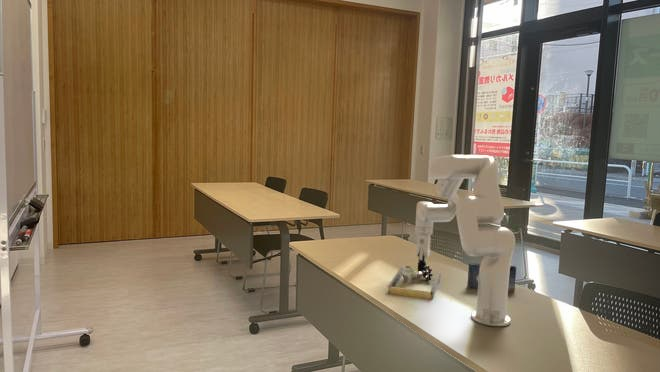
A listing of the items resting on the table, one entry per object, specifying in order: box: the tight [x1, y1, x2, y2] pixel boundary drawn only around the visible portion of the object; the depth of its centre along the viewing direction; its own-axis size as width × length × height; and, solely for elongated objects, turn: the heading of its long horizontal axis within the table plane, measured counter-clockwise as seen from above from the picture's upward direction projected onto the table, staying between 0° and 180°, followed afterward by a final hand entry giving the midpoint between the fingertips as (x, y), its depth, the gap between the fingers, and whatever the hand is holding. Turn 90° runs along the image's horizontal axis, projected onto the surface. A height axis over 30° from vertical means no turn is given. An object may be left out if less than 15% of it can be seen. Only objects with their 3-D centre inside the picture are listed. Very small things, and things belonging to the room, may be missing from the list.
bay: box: [387, 266, 442, 301], centre depth 200 cm, size 28×17×3 cm, turn 162°
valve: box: [402, 264, 433, 285], centre depth 205 cm, size 7×7×12 cm
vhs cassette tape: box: [466, 262, 517, 292], centre depth 199 cm, size 18×3×10 cm, turn 84°
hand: (421, 271), depth 217 cm, fingers closed
